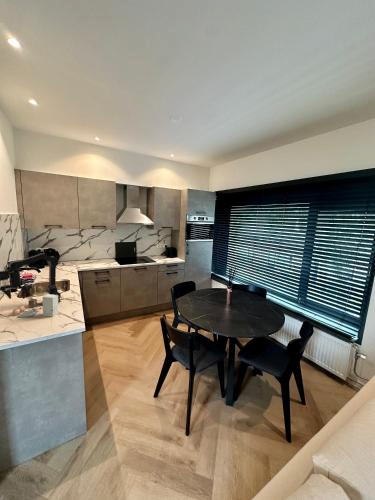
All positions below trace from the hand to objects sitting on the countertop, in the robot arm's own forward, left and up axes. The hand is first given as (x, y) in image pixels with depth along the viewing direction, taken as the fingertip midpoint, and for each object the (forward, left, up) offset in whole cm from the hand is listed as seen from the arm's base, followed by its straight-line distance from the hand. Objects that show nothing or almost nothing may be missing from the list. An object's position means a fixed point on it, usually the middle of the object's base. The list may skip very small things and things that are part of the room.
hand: (17, 298), depth 154 cm
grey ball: (-10, -3, -11) cm, 15 cm away
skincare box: (-25, +4, -11) cm, 28 cm away
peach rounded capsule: (-1, -2, -11) cm, 12 cm away
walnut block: (-4, -11, -11) cm, 16 cm away
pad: (-9, +3, -11) cm, 15 cm away
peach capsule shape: (-1, +3, -11) cm, 12 cm away
